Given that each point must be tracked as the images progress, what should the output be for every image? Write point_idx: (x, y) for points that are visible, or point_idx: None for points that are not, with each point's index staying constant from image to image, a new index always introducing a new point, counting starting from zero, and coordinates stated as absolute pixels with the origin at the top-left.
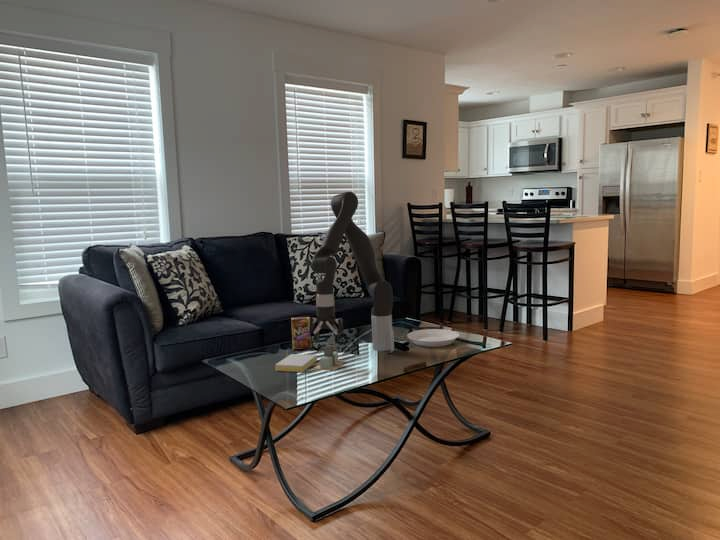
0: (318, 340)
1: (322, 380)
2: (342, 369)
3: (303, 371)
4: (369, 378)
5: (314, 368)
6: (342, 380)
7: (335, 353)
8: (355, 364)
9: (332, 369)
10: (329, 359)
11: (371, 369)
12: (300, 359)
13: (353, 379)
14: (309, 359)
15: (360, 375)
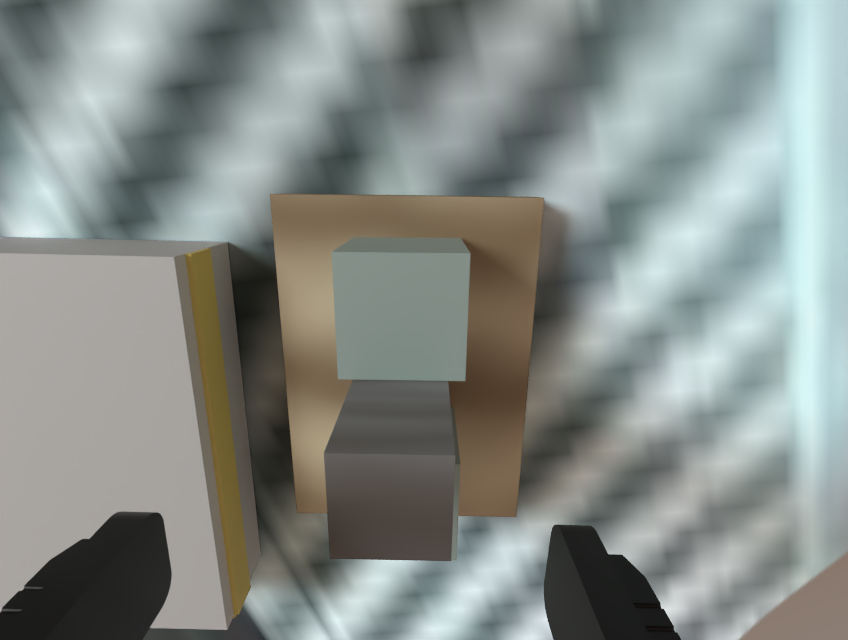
0: (144, 560)
1: (455, 630)
2: (542, 382)
3: (249, 567)
4: (804, 565)
5: (308, 493)
6: None
7: (462, 333)
8: (643, 208)
9: (484, 502)
10: (456, 542)
11: (821, 354)
12: (84, 454)
13: (681, 594)
14: (185, 444)
15: (727, 511)
